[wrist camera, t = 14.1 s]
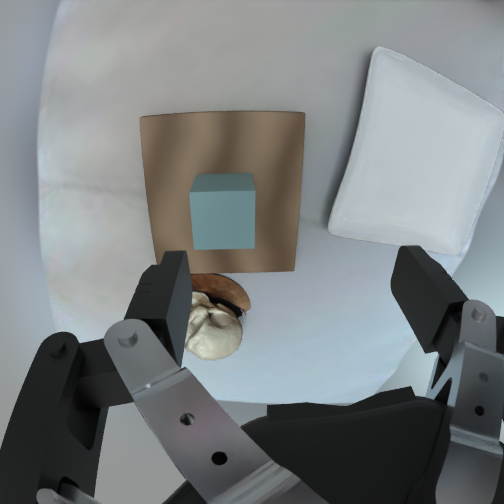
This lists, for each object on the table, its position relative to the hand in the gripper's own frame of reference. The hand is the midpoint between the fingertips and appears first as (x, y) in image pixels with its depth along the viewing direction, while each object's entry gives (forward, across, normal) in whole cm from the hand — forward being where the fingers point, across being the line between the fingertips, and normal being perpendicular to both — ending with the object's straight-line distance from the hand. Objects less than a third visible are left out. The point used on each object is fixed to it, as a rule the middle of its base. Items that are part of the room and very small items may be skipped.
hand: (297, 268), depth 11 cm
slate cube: (+21, +4, +5) cm, 22 cm away
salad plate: (+24, -19, +1) cm, 30 cm away
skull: (+22, +7, +21) cm, 32 cm away
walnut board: (+22, +4, +5) cm, 23 cm away
